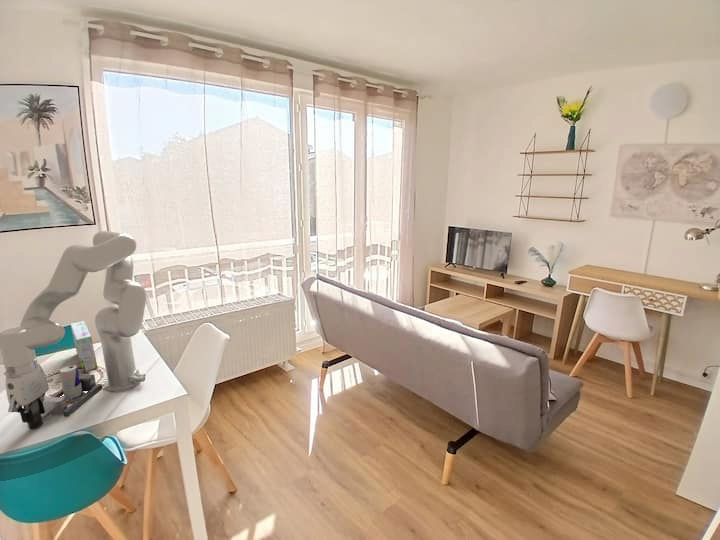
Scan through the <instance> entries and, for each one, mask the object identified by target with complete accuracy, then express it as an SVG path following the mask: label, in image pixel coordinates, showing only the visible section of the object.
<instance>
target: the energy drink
mask: <svg viewBox="0 0 720 540" xmlns="http://www.w3.org/2000/svg"><path fill="white" fill-rule="evenodd" d="M79 374H80V372H79V368H78V366H77V365H75V364H70V365H66V366H64V367H61V368H60V369H59V378H60V381H61V385H62V388H63V392H64V396H63V397H65V398H66V400H68V401H67V402H69V401H70V402H76V401H77V399H79V398H81V397H82V395H84V393H83V391H82V386H81V381H80V376H79Z"/></svg>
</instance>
